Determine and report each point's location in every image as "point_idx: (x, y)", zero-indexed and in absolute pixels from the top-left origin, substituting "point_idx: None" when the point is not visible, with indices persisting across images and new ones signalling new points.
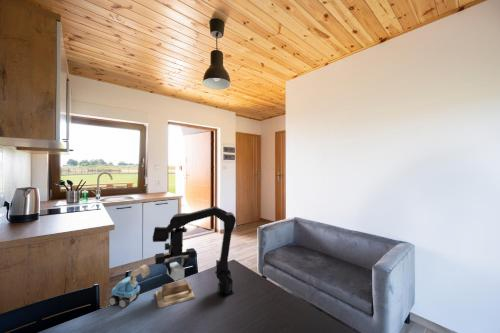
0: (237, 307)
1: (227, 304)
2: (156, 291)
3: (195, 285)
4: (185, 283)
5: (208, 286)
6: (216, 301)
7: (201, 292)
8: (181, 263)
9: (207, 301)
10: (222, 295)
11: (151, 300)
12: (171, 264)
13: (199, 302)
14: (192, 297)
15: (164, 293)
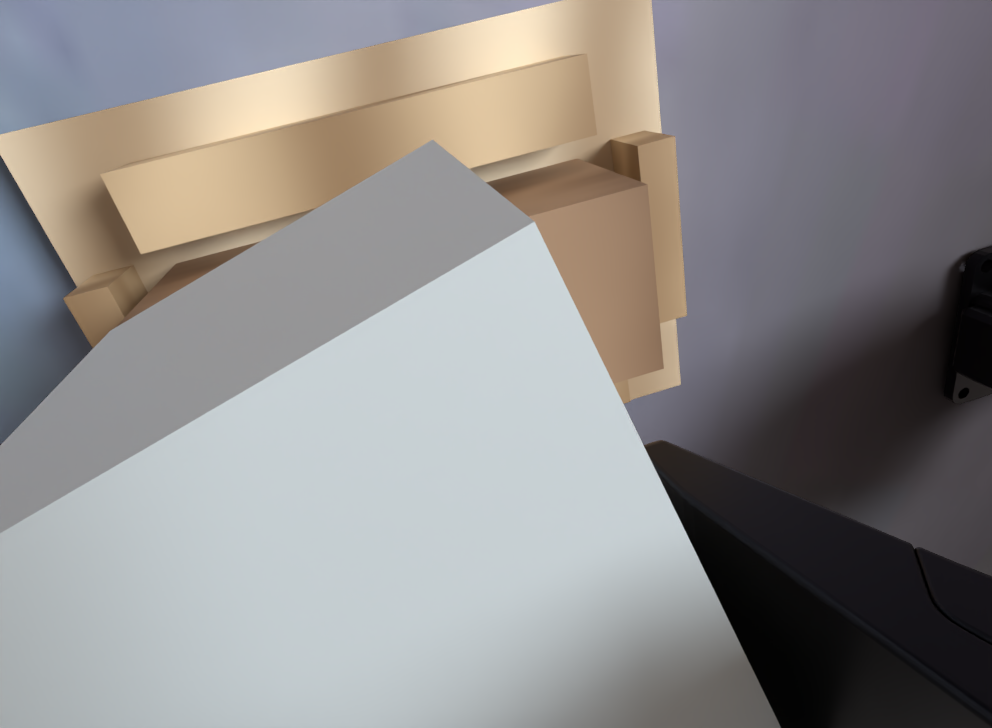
0: (976, 541)
1: (929, 502)
2: (9, 138)
3: (743, 17)
4: (626, 344)
5: (911, 112)
6: (863, 452)
7: (775, 257)
8: (862, 659)
9: (784, 443)
10: (963, 385)
11: (33, 335)
12: (229, 647)
13: (703, 451)
14: (648, 386)
15: None
